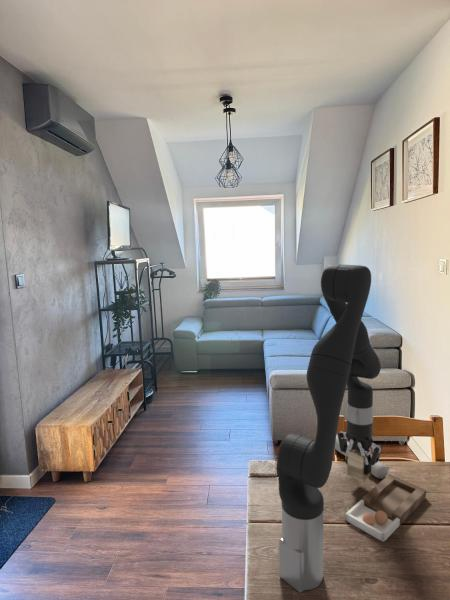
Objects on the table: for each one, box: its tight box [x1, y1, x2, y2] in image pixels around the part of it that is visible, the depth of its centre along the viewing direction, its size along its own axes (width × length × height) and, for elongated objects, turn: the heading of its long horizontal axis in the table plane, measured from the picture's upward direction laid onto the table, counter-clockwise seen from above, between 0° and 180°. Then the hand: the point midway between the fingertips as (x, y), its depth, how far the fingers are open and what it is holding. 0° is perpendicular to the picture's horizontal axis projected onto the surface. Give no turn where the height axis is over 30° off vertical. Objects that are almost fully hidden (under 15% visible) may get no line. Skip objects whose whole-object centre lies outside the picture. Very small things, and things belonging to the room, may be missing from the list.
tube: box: [334, 433, 389, 480], centre depth 136 cm, size 5×5×25 cm
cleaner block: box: [346, 449, 371, 483], centre depth 122 cm, size 4×5×8 cm
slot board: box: [361, 473, 427, 526], centre depth 115 cm, size 16×11×2 cm
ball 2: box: [375, 511, 388, 524], centre depth 107 cm, size 3×3×3 cm
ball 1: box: [363, 513, 375, 526], centre depth 106 cm, size 3×3×3 cm
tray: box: [344, 499, 401, 543], centre depth 107 cm, size 8×11×2 cm
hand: (358, 469), depth 122 cm, fingers closed on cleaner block, 5 cm apart
